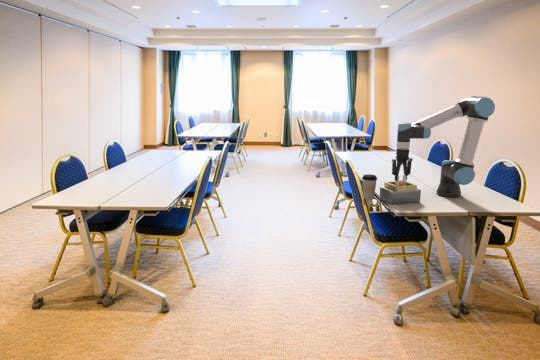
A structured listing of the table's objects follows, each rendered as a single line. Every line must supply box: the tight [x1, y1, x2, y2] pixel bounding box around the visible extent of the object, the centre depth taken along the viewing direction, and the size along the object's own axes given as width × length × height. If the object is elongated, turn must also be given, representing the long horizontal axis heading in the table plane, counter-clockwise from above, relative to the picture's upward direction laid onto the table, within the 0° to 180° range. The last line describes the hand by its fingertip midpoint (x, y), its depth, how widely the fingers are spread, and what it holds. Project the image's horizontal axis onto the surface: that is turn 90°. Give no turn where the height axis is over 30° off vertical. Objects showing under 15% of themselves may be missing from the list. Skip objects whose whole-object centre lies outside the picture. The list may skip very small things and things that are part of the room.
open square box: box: [378, 180, 422, 206], centre depth 272 cm, size 20×14×11 cm
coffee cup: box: [361, 174, 378, 201], centre depth 276 cm, size 9×9×15 cm
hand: (400, 185), depth 271 cm, fingers open, 4 cm apart
